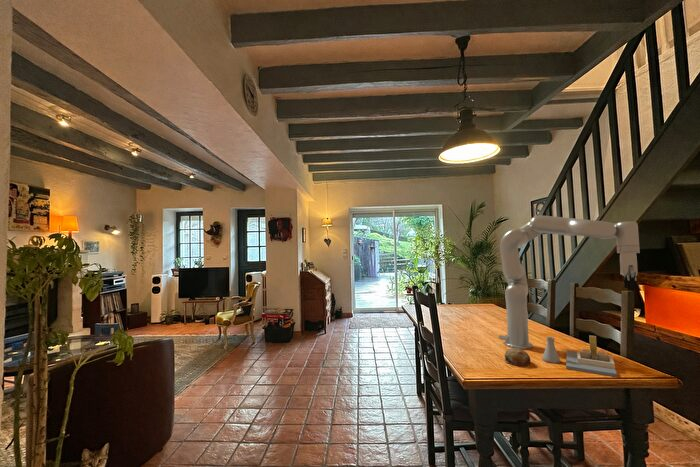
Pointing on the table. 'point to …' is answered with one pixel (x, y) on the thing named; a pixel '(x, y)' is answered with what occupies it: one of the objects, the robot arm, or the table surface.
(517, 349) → the bread roll
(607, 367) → the dock board
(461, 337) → the table surface
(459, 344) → the table surface
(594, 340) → the pin
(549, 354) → the flask
